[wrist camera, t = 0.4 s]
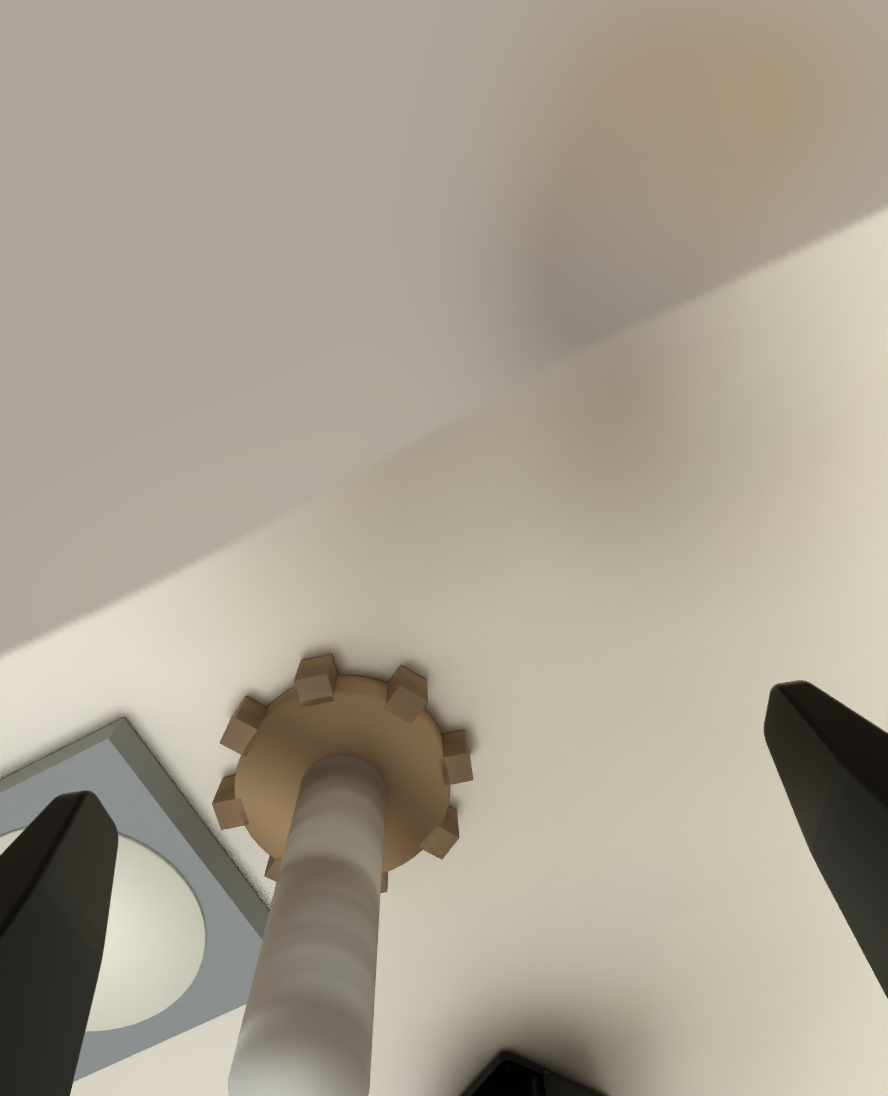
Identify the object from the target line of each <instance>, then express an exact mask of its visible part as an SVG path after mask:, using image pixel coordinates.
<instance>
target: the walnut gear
mask: <svg viewBox="0 0 888 1096" xmlns="http://www.w3.org/2000/svg"><path fill="white" fill-rule="evenodd" d="M294 682H295V687H293V688H292V689H290V690H288V691H286V692H285V693H283V694H282V695H280V696H279V697H278V698H276V699H275V700H274V701H273V702H272V703H271V704H270V705H269V706H268V707H267V708H266V707H264V706H262V705H261V704H259V703H257V702H255V701H253V700H251V699H249V698H248V697H245V698H244V700H243V701H242V703H241V704H240V706H239V707H238V709H237V710H236V712H235V713H234V715H233V717H232V718H231V720H230V722H229V724H228V726H227V728H226V730H225V732H224V734H223V737H222V739H221V741H220V744H222V745H224V746H226V747H228V748H230V749H232V750H234V751H236V752H237V753H239V754H241V757H240V760H239V762H238V766H237V770H236V775H235V776H230V777H225V778H223V779H222V781H221V783H220V786H219V788H218V791H217V793H216V795H215V798H214V800H213V802H212V805H213V808H214V811H215V814H216V816H217V819H218V822H219V825H220V828H221V830H224V829H229V828H234V827H239V826H244V825H245V827H246V829H247V830H248V832H249V834H250V835H251V836H252V838H253V839H254V840H255V841H256V843H257V844H258V845H259V846H260V847H261V848H262V849H263V850H264V851H266V852H267V853H268V854H269V855H270V856H269V860H268V864H267V867H266V871H265V875H264V876H265V877H267V878H269V879H271V880H274V881H276V882H277V883H276V887H275V891H274V895H273V899H272V903H271V907H270V911H269V915H268V920H267V924H266V928H265V932H264V936H263V940H262V944H261V948H260V952H259V956H258V960H257V964H256V968H255V973H254V977H253V981H252V985H251V989H250V993H249V997H248V1001H247V1005H246V1009H245V1013H244V1017H243V1022H242V1026H241V1030H240V1034H239V1038H238V1042H237V1046H236V1050H235V1054H234V1058H233V1062H232V1066H231V1070H230V1075H229V1079H228V1091H229V1095H230V1096H368V1094H369V1086H370V1068H371V1051H372V1033H373V1015H374V997H375V979H376V962H377V944H378V926H379V908H380V893H384V892H387V886H388V871H390V870H393V869H395V868H397V867H398V866H400V865H402V864H404V863H406V862H407V861H409V860H410V859H412V858H413V857H415V856H416V855H417V854H418V853H419V852H420V851H422V850H425V851H427V852H429V853H431V854H432V855H434V856H436V857H438V858H440V859H443V858H444V857H445V855H446V854H447V853H448V851H449V850H450V849H451V848H452V846H453V845H454V844H455V842H456V841H457V840H458V839H459V828H458V818H457V811H456V810H454V809H453V808H451V807H449V806H448V803H449V796H450V785H451V784H456V783H461V782H466V781H471V780H473V774H472V767H471V760H470V754H469V749H468V745H467V740H466V735H465V731H464V730H460V731H455V732H450V733H445V734H441V732H440V729H439V727H438V725H437V724H436V722H435V721H434V719H433V718H432V716H431V715H430V714H429V713H428V711H427V710H426V709H425V708H424V706H425V705H426V703H427V702H428V695H427V680H425V679H423V678H422V677H420V676H418V675H416V674H415V673H413V672H411V671H409V670H408V669H406V668H404V667H403V666H401V665H400V667H399V668H398V669H397V671H396V672H395V674H394V675H393V676H392V678H391V679H390V681H389V682H388V683H385V682H382V681H379V680H376V679H372V678H367V677H362V676H352V675H339V676H338V675H337V671H336V667H335V664H334V660H333V656H332V654H331V655H326V656H321V657H316V658H311V659H306V660H301V661H300V664H299V667H298V670H297V673H296V676H295V679H294Z"/></svg>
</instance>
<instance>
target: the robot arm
mask: <svg viewBox="0 0 888 1096" xmlns="http://www.w3.org/2000/svg"><path fill="white" fill-rule="evenodd" d="M764 735H765V740H766V743H767V746H768V748H769V751H770V753H771V756H772V758H773V761H774V763H775V766H776V768H777V771H778V773H779V776H780V778H781V781H782V783H783V786H784V788H785V791H786V793H787V796H788V798H789V801H790V803H791V806H792V808H793V811H794V813H795V816H796V818H797V821H798V823H799V826H800V828H801V831H802V833H803V836H804V838H805V840H806V843H807V845H808V847H809V850H810V852H811V854H812V856H813V858H814V860H815V862H816V864H817V866H818V868H819V870H820V872H821V874H822V876H823V878H824V880H825V881H826V883H827V885H828V887H829V889H830V891H831V893H832V895H833V897H834V898H835V900H836V902H837V904H838V906H839V908H840V910H841V912H842V913H843V915H844V917H845V919H846V921H847V923H848V925H849V927H850V929H851V930H852V932H853V934H854V936H855V938H856V940H857V942H858V944H859V946H860V947H861V949H862V951H863V953H864V955H865V957H866V959H867V961H868V962H869V964H870V966H871V968H872V970H873V972H874V974H875V976H876V978H877V979H878V981H879V983H880V985H881V987H882V989H883V991H884V993H885V995H886V996H887V998H888V733H887V732H885V731H884V730H882V729H881V728H879V727H878V726H876V725H874V724H873V723H871V722H870V721H868V720H867V719H865V718H864V717H862V716H861V715H859V714H858V713H856V712H855V711H853V710H851V709H850V708H848V707H847V706H845V705H844V704H842V703H841V702H839V701H838V700H836V699H835V698H833V697H831V696H830V695H828V694H827V693H825V692H824V691H822V690H821V689H819V688H818V687H816V686H815V685H813V684H811V683H809V682H807V681H803V680H799V681H792V682H785V683H779V684H776V685H774V686H773V687H772V689H771V691H770V695H769V701H768V706H767V711H766V716H765V722H764ZM117 850H118V831H117V828H116V825H115V823H114V821H113V820H112V818H111V817H110V815H109V814H108V812H107V811H106V809H105V808H104V806H103V805H102V803H101V801H100V800H99V798H98V797H97V795H96V794H95V793H94V792H92V791H90V790H82V791H75V792H69V793H64V794H60V795H58V796H57V797H55V798H54V799H53V800H52V801H51V802H50V803H49V804H48V805H47V806H46V807H45V808H44V809H43V810H42V811H41V812H40V813H39V814H38V816H37V817H36V818H35V819H34V820H33V821H32V822H31V823H30V824H29V825H28V826H27V827H26V828H25V829H24V830H23V831H22V832H21V834H20V835H19V836H18V837H17V838H16V839H15V840H14V841H13V842H12V843H11V844H10V845H9V846H8V847H7V848H6V849H5V850H4V852H3V853H2V854H1V855H0V1096H70V1093H71V1088H72V1084H73V1080H74V1076H75V1072H76V1068H77V1064H78V1060H79V1055H80V1051H81V1047H82V1043H83V1039H84V1035H85V1031H86V1027H87V1022H88V1018H89V1014H90V1010H91V1006H92V1002H93V998H94V994H95V989H96V985H97V981H98V977H99V972H100V967H101V963H102V957H103V951H104V945H105V939H106V931H107V924H108V917H109V909H110V902H111V894H112V887H113V880H114V872H115V865H116V857H117ZM463 1096H604V1095H601V1094H599V1093H597V1092H595V1091H593V1090H591V1089H589V1088H587V1087H584V1086H582V1085H580V1084H578V1083H576V1082H574V1081H572V1080H570V1079H567V1078H565V1077H563V1076H561V1075H559V1074H557V1073H555V1072H553V1071H550V1070H548V1069H546V1068H544V1067H542V1066H540V1065H538V1064H536V1063H533V1062H531V1061H529V1060H527V1059H525V1058H523V1057H521V1056H519V1055H516V1054H514V1053H512V1052H504V1053H501V1054H500V1055H498V1056H497V1057H496V1058H495V1060H494V1061H493V1062H492V1063H491V1064H490V1065H489V1066H488V1068H487V1069H486V1070H485V1071H484V1072H483V1073H482V1074H481V1075H480V1077H479V1078H478V1079H477V1080H476V1081H475V1082H474V1083H473V1085H472V1086H471V1087H470V1088H469V1089H468V1090H467V1091H466V1092H465V1094H464V1095H463Z"/></svg>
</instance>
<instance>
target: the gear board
mask: <svg viewBox="0 0 888 1096" xmlns="http://www.w3.org/2000/svg"><path fill="white" fill-rule="evenodd" d="M82 790H90V791H92V792H94V793H95V794H96V795H97V797H98V798H99V800H100V801H101V803H102V805H103V806H104V808H105V809H106V811H107V812H108V814H109V815H110V817H111V818H112V820H113V821H114V823H115V825H116V828H117V831H118V850H117V857H116V865H115V872H114V880H113V887H112V894H111V902H110V909H109V917H108V924H107V931H106V939H105V945H104V951H103V957H102V963H101V967H100V972H99V977H98V981H97V985H96V989H95V994H94V998H93V1002H92V1006H91V1010H90V1014H89V1018H88V1022H87V1027H86V1031H85V1035H84V1039H83V1043H82V1047H81V1051H80V1055H79V1060H78V1064H77V1068H76V1072H75V1076H74V1080H73V1082H74V1081H76V1080H78V1079H81V1078H83V1077H85V1076H87V1075H90V1074H92V1073H94V1072H96V1071H98V1070H101V1069H103V1068H105V1067H107V1066H110V1065H112V1064H114V1063H116V1062H118V1061H121V1060H123V1059H125V1058H127V1057H129V1056H132V1055H134V1054H136V1053H138V1052H141V1051H143V1050H145V1049H147V1048H149V1047H152V1046H154V1045H156V1044H158V1043H161V1042H163V1041H165V1040H167V1039H169V1038H172V1037H174V1036H176V1035H178V1034H181V1033H183V1032H185V1031H187V1030H189V1029H192V1028H194V1027H196V1026H198V1025H201V1024H203V1023H205V1022H207V1021H209V1020H212V1019H214V1018H216V1017H218V1016H221V1015H223V1014H225V1013H227V1012H229V1011H232V1010H234V1009H236V1008H238V1007H240V1006H243V1005H245V1004H247V1001H248V997H249V993H250V989H251V985H252V981H253V977H254V973H255V968H256V964H257V960H258V956H259V952H260V948H261V944H262V940H263V936H264V932H265V928H266V924H267V920H268V915H269V910H268V908H267V907H266V906H265V904H264V903H263V902H262V900H261V899H260V898H259V896H258V895H257V894H256V892H255V891H254V890H253V888H252V887H251V886H250V884H249V883H248V882H247V880H246V879H245V878H244V876H243V875H242V874H241V872H240V871H239V870H238V868H237V867H236V866H235V864H234V863H233V862H232V860H231V859H230V858H229V856H228V855H227V854H226V852H225V851H224V850H223V848H222V847H221V846H220V844H219V843H218V842H217V840H216V839H215V838H214V836H213V835H212V834H211V832H210V831H209V830H208V828H207V827H206V826H205V824H204V823H203V821H202V820H201V819H200V817H199V816H198V815H197V813H196V812H195V811H194V809H193V808H192V807H191V805H190V804H189V803H188V801H187V800H186V799H185V797H184V796H183V795H182V793H181V792H180V791H179V789H178V788H177V787H176V785H175V784H174V783H173V781H172V780H171V779H170V777H169V776H168V775H167V773H166V772H165V771H164V769H163V768H162V767H161V765H160V764H159V763H158V761H157V760H156V759H155V757H154V756H153V755H152V753H151V752H150V751H149V749H148V748H147V747H146V745H145V744H144V743H143V741H142V740H141V739H140V737H139V736H138V735H137V733H136V732H135V731H134V729H133V728H132V727H131V725H130V724H129V723H128V721H127V720H126V719H125V717H123V718H121V719H119V720H117V721H115V722H113V723H111V724H109V725H107V726H105V727H103V728H102V729H100V730H98V731H96V732H94V733H92V734H90V735H88V736H86V737H84V738H82V739H80V740H78V741H76V742H74V743H72V744H70V745H68V746H66V747H64V748H62V749H60V750H58V751H56V752H54V753H52V754H50V755H48V756H46V757H44V758H42V759H40V760H38V761H36V762H34V763H32V764H30V765H28V766H26V767H24V768H22V769H20V770H18V771H16V772H14V773H12V774H11V775H9V776H7V777H5V778H3V779H1V780H0V855H1V854H2V853H3V852H4V850H5V849H6V848H7V847H8V846H9V845H10V844H11V843H12V842H13V841H14V840H15V839H16V838H17V837H18V836H19V835H20V834H21V832H22V831H23V830H24V829H25V828H26V827H27V826H28V825H29V824H30V823H31V822H32V821H33V820H34V819H35V818H36V817H37V816H38V814H39V813H40V812H41V811H42V810H43V809H44V808H45V807H46V806H47V805H48V804H49V803H50V802H51V801H52V800H53V799H54V798H55V797H57V796H58V795H60V794H64V793H69V792H75V791H82Z"/></svg>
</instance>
